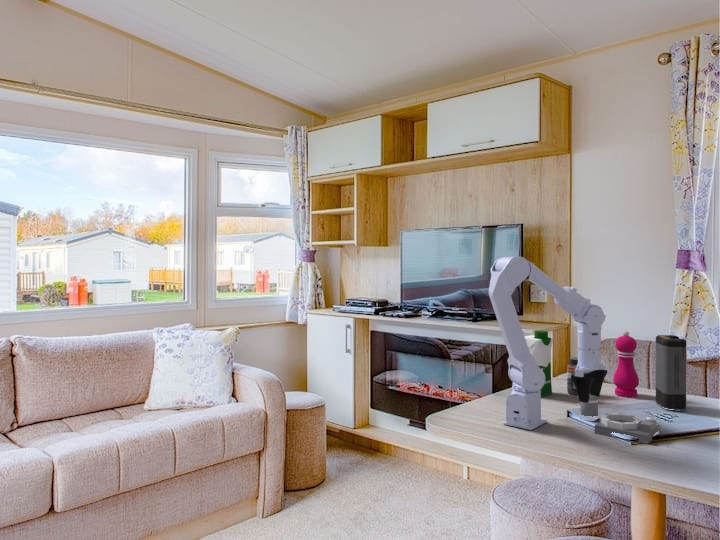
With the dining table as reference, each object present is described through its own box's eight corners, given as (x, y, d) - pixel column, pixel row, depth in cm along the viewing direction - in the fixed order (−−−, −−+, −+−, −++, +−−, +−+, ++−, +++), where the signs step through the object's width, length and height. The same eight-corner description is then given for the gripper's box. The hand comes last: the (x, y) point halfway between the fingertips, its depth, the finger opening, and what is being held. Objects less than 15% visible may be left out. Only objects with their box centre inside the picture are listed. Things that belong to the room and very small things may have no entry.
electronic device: (688, 412, 153) (688, 340, 152) (664, 411, 154) (664, 339, 154) (676, 403, 162) (676, 335, 161) (654, 402, 163) (654, 334, 163)
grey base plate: (647, 444, 128) (647, 425, 128) (594, 433, 136) (594, 415, 136) (660, 433, 135) (660, 415, 135) (609, 423, 144) (609, 407, 144)
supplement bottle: (584, 391, 177) (584, 356, 177) (590, 396, 171) (589, 359, 171) (564, 391, 178) (564, 356, 177) (570, 396, 172) (569, 359, 172)
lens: (594, 422, 145) (594, 399, 145) (577, 419, 148) (577, 397, 148) (601, 418, 148) (601, 396, 148) (584, 415, 151) (584, 393, 151)
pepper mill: (608, 393, 174) (607, 330, 173) (624, 391, 177) (624, 328, 176) (627, 399, 167) (627, 333, 167) (644, 396, 170) (644, 331, 170)
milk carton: (539, 398, 169) (539, 333, 169) (515, 392, 177) (514, 330, 176) (556, 393, 175) (556, 330, 174) (532, 388, 182) (531, 328, 181)
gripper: (594, 354, 140) (594, 407, 140) (614, 346, 150) (614, 395, 151) (566, 351, 144) (567, 402, 145) (588, 343, 155) (588, 391, 155)
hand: (589, 399), depth 148 cm, fingers open, 7 cm apart
